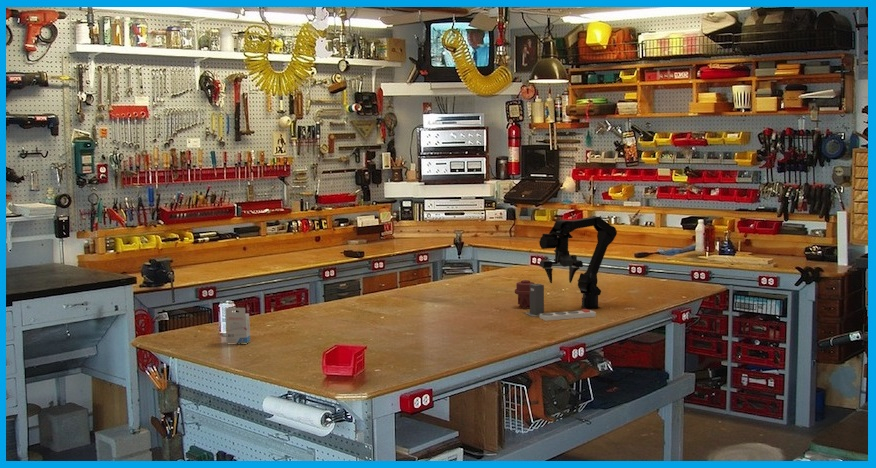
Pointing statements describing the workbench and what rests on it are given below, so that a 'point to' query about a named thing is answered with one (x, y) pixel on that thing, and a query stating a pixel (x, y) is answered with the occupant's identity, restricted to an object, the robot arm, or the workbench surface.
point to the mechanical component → (523, 293)
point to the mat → (531, 314)
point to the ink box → (237, 326)
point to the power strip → (568, 315)
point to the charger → (536, 299)
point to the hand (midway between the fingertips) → (560, 282)
